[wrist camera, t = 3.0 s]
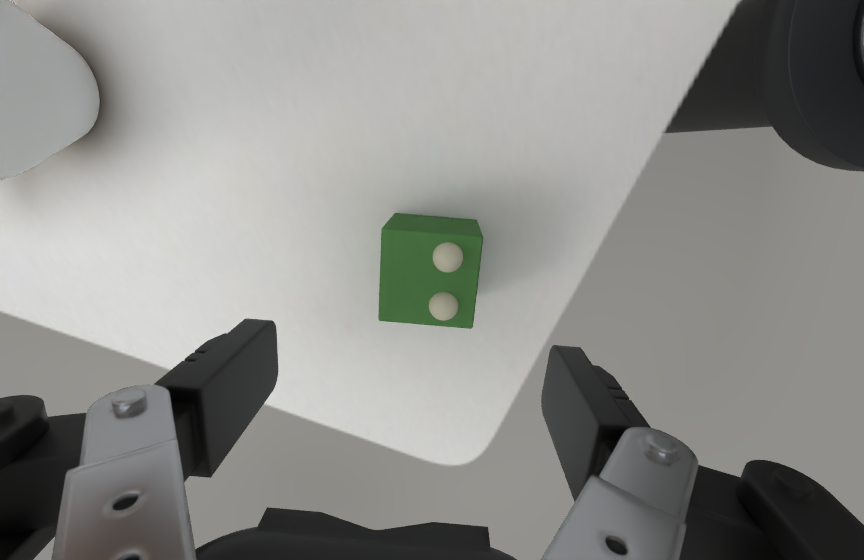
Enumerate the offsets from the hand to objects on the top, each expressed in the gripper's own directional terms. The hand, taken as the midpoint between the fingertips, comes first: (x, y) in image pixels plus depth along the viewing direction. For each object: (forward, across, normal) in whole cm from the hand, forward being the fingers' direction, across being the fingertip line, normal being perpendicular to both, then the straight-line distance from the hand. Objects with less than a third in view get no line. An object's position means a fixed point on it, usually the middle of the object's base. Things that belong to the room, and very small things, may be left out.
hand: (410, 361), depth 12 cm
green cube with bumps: (+12, 0, 0) cm, 12 cm away
